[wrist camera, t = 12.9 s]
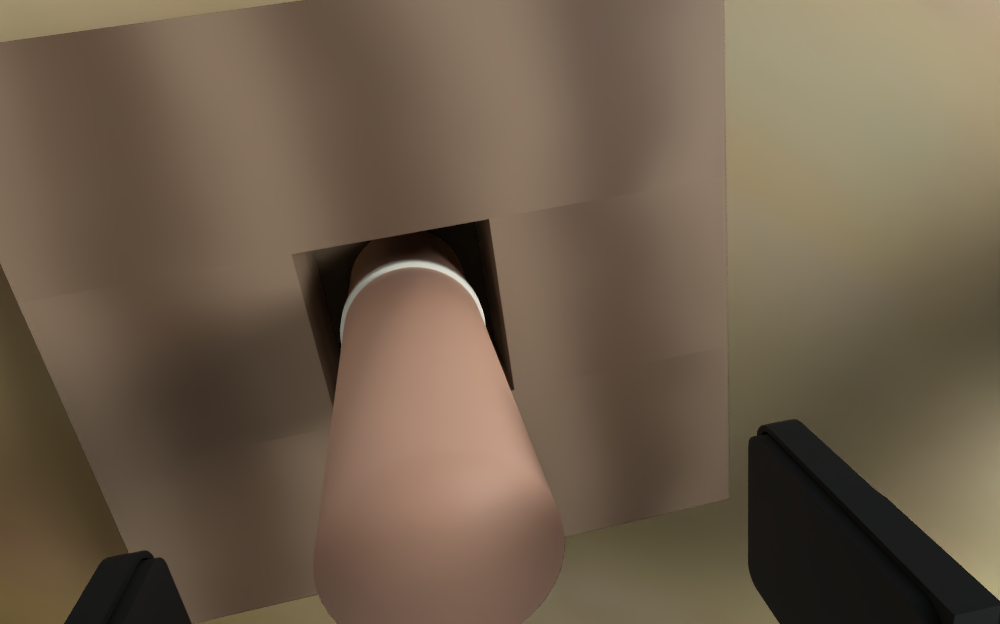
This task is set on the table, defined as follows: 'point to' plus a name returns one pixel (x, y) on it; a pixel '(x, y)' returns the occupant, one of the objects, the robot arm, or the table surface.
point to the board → (362, 217)
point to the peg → (428, 457)
